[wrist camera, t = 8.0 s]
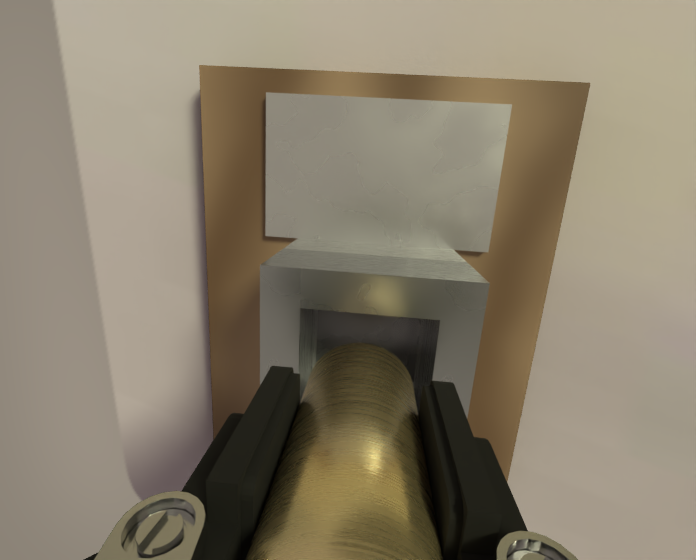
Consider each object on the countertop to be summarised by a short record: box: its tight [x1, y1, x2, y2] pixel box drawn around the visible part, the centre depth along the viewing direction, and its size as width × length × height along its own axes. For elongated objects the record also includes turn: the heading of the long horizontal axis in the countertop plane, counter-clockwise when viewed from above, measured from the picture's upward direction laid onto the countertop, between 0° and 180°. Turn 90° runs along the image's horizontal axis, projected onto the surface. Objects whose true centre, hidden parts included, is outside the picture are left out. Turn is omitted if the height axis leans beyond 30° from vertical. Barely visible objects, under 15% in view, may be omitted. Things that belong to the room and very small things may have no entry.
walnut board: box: [199, 65, 590, 481], centre depth 19 cm, size 16×21×2 cm
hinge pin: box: [246, 343, 443, 560], centre depth 7 cm, size 3×3×10 cm
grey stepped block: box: [260, 92, 512, 417], centre depth 15 cm, size 10×19×6 cm, turn 176°
